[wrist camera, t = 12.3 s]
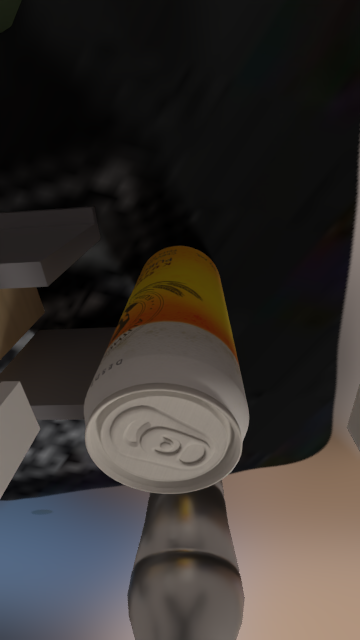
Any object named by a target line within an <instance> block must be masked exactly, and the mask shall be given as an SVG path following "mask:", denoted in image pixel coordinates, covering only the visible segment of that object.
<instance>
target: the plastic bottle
mask: <svg viewBox="0 0 360 640" xmlns="http://www.w3.org/2000/svg"><path fill="white" fill-rule="evenodd" d="M127 596H128V609H129V618H130V622H131V625H132V629H133V633H134V637H135V640H236V638H237V636H238V633H239V630H240V627H241V624H242V617H243V606H244V593H243V587H242V581H241V576H240V573H239V568H238V564H237V559H236V555H235V551H234V546H233V542H232V538H231V534H230V529H229V525H228V519H227V512H226V505H225V500H224V491H223V485H222V480H220V481H219V482H217V483H215V484H213V485H211V486H209V487H206V488H203V489H200V490H197V491H192V492H187V493H179V494H161V493H152V492H150V497H149V501H148V506H147V512H146V518H145V523H144V527H143V531H142V536H141V539H140V543H139V547H138V551H137V555H136V559H135V562H134V567H133V571H132V574H131V579H130V585H129V590H128V595H127Z"/></svg>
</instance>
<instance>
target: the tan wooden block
mask: <svg viewBox="0 0 360 640" xmlns="http://www.w3.org/2000/svg"><path fill="white" fill-rule="evenodd" d="M44 313H45V311H44V308H43V305H42V302H41V299H40V297H39V294H38V291H37V288H36V287H29V288H8V289H0V359H1V358H2V357H3V356H4V355H5V354H6V353H7V352H8V351H9V350H10V349H11V348H12V347H13V346H14V345H15V344H16V342H17V341H18V340H19V339H20V338H21V337H22V336H23V335H24V334H25V333H26V332H27V331H28V330H29V329H30V328H31V327H32V326H33V324H34V323H35V322H36V321H37V320H38V319H39V318H40V317H41V316H42V315H43V314H44Z"/></svg>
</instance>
